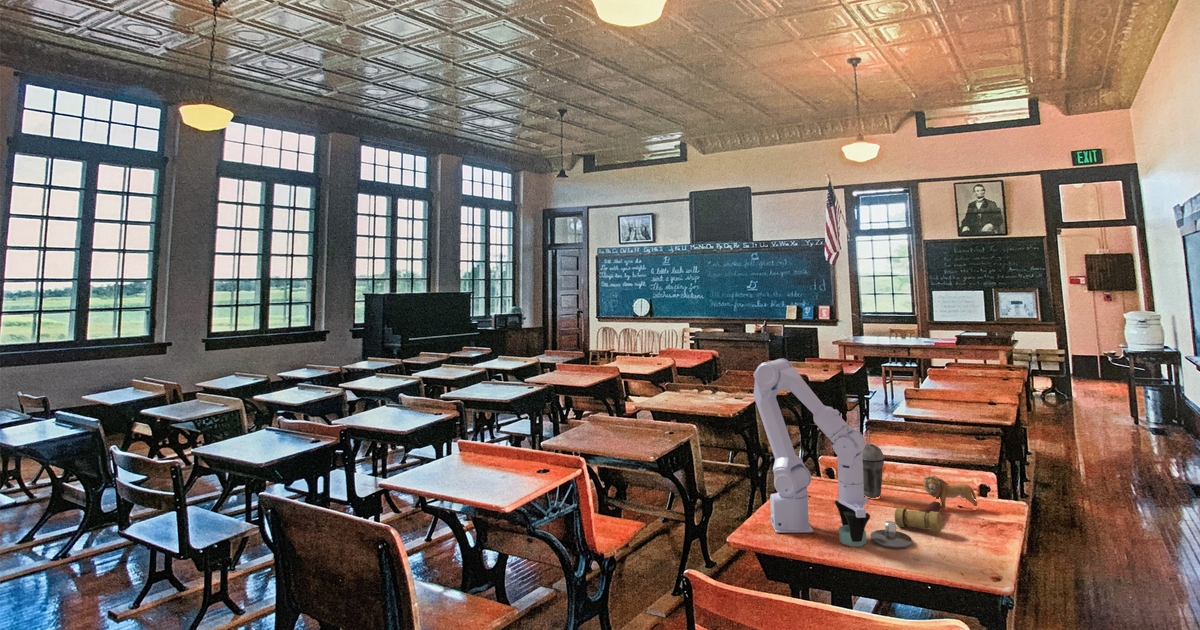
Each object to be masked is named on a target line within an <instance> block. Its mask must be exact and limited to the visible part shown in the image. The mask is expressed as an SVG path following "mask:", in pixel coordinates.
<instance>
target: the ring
mask: <svg viewBox="0 0 1200 630" xmlns="http://www.w3.org/2000/svg"><path fill="white" fill-rule="evenodd" d="M838 534H839V535H838V536H839V541H840V542H841V544H843V545H846V546H850V547H863V546H864V545H866V544H867V531H866V529H864V533H863V537H862V541H861V542H853V541H852V539H851V536H850V530H849V525H841V526H839V528H838Z"/></svg>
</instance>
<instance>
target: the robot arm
mask: <svg viewBox="0 0 1200 630" xmlns="http://www.w3.org/2000/svg"><path fill="white" fill-rule="evenodd" d="M753 378H754V387H753V397H754V401H755V404H756V407H757V410H758V413H759V416H760V419H761V421H762V426H763V427H764V431H765V434H766V437H767V440H768V442H769V446H770V449H771V452H772V455H773V457H774V463H773V467H772V472H773V475H774V477H773V486H774V488H775V490H776V492H775V493H771V494H770V496H769V497H770V498H769V499H770V500H769V502H770V503H769V504H770V505H769V507H770V524H771V526H772V528H773V529H774V531H775V532H776V534H777V533H778V534H779V533H780V534H781V533H785V534H786V533H788V534H789V533H814V529H813V528H812V526H811V525H810V521H809V520H810V519H809V493H808V486H810V485H811V482H812V474H811V471H810V470H809V469H808V468H807V467H806V466H805V464H804V462H803V459H802V458H801V457H799V455H797V454H796V451H795V448H794V447H793V446H794V445H793V443H792V441H791V437H790V435H789V432H788V431H789V430H788V429H787V425H786V423H785V420H784V417H783V414H782V412H781V409H780V406H779V403H778V400H777V395H778V394H779V391H780V390H785V391H789V392H791V393H792V394H793V395H794V396H795V397H796V398H797V399H798V400H799V401H800V402H801V403H802V405H804V406H805V407H806V408H807V409H808V410H809V412H811V413H812V414H813V418H812V419H813V422H814V424H815V425H816V426H817V427H818V428H819V429H820V431H821V432H822V433H823V434H824V435H825V436H826V437H827V438H828V440H830V442H832V443H833V444H832V448H833V449H832V450H833V452H834V453H835V454H836V456H837V481H838V482H837V484H838V496H837V500H835V501H834V504H835V506H836V508H837V510H838V512H839V513H838V514H839V517H840V521H841V524H842V525H841V526H843V525H849V530H850V536H851V539H852V541H853V542H861V541H862V537H863V533H864V530H866V529H865V528H866V525H867V524H868V522H869V520H870V519H871V515H870V514H869V512H866V508H865V505H866V504H867V503H870V499H868V498H867V497H864V484H863V460H862V453H860V452H862V451H863V449H864V448H865V445H867V443H866V440H865V439H866V438H865V437H864V435H863V434H862V432H861V431H859V430H858V429H857V430H856V429H854V427H852V425H849V424H848V423H847V422H846V421H845V420H844V419H843V417H841V416H840V411H839V410H838V409H834V408H833V407H832V406H828V405H825V404H823V402H822V401H821V400H820V398H818V396H817V395H816V394H815V393H814V391H813V390H812V389H811V387H810V386H809V385H808V384H807V383H806V382H805V380H804V379H803V378H802V377H801V374H800V373H799V370H798V368H796V367H795V366H793V364H792V363H791V362H790V361H789V360H788V359H786V358H778V359H774V360H771V361H765V362H761V363H760V364H758V366H757V368H756V369H755V371H754V372H753ZM859 453H860V454H859Z"/></svg>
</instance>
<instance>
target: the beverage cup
mask: <svg viewBox="0 0 1200 630" xmlns="http://www.w3.org/2000/svg"><path fill="white" fill-rule="evenodd" d="M870 434H871V433H870V430H868V429H867V437H868V438H867V439H868V443H866V445H865V448H864V449H863V451H862V452H860V453H862V460H863V484H864V495H865V496H867V497H870V498H876V497H879V496H880V495H881V496H882V486H883V484H882V483H883V469H884V464H885V455H884V452H883V451H882V449H880V447H878V446H877V445H875V444H871V435H870ZM860 453H859V454H860ZM881 496H880V497H881Z"/></svg>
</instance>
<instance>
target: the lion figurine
mask: <svg viewBox="0 0 1200 630" xmlns="http://www.w3.org/2000/svg"><path fill="white" fill-rule="evenodd" d="M923 487H924V489H925V491H926V492H927V493H928V494H929V495H930V496H931V497H933V498H935V497H936V499H939V497H940V504H941V509H940V510H945V509H946V500H947V498H949V499H954V498H957V497H960V498H961V497H962V498H966V501H968V502H969V503H971V504H973V507H974V506H977V503H978V502H977V501H975V500H974V499H976V500H977V496H976V493H975V491H974V489H973V488H972V487H971V486H970V485H969V484H966V483H954V484H949V483H947V482H946V481H944V480H943V479H941V478H940V477H937V476H936V475H934V474H929V475H928V474H927V475H926V476H925V477H924V480H923ZM936 499H935V500H936Z"/></svg>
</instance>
